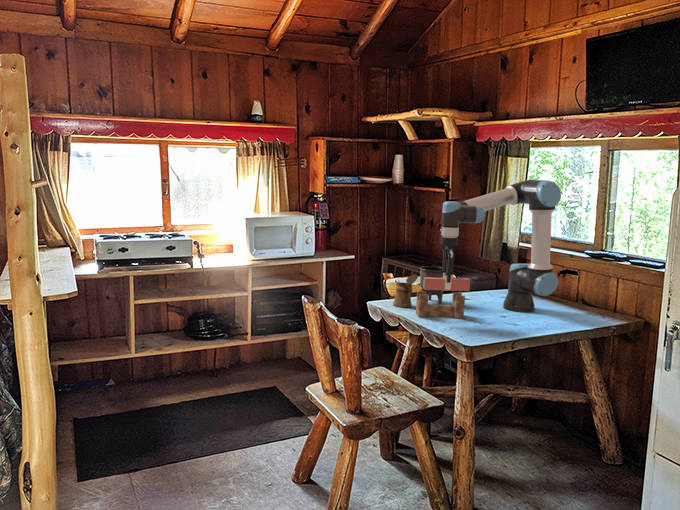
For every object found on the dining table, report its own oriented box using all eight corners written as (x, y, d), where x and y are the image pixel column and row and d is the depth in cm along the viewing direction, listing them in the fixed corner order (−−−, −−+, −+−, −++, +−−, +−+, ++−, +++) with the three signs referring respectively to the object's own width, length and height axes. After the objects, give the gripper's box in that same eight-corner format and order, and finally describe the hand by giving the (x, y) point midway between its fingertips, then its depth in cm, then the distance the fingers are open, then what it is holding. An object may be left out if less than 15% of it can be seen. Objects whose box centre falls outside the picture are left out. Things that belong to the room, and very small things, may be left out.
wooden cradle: (459, 314, 282) (461, 292, 280) (463, 318, 274) (465, 296, 273) (415, 313, 281) (417, 291, 279) (418, 317, 273) (419, 294, 272)
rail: (467, 289, 267) (468, 278, 267) (469, 291, 264) (470, 280, 263) (423, 288, 267) (423, 277, 266) (424, 289, 263) (425, 278, 262)
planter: (447, 302, 306) (449, 268, 303) (437, 306, 295) (439, 271, 293) (424, 298, 313) (426, 265, 310) (413, 302, 302) (416, 268, 299)
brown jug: (405, 310, 285) (407, 273, 282) (389, 304, 296) (391, 268, 293) (420, 309, 289) (422, 272, 286) (403, 302, 301) (406, 268, 298)
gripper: (437, 234, 270) (434, 284, 273) (445, 238, 253) (442, 292, 257) (453, 234, 270) (450, 284, 274) (462, 239, 254) (459, 292, 257)
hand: (446, 288), depth 265 cm, fingers closed on rail, 4 cm apart
